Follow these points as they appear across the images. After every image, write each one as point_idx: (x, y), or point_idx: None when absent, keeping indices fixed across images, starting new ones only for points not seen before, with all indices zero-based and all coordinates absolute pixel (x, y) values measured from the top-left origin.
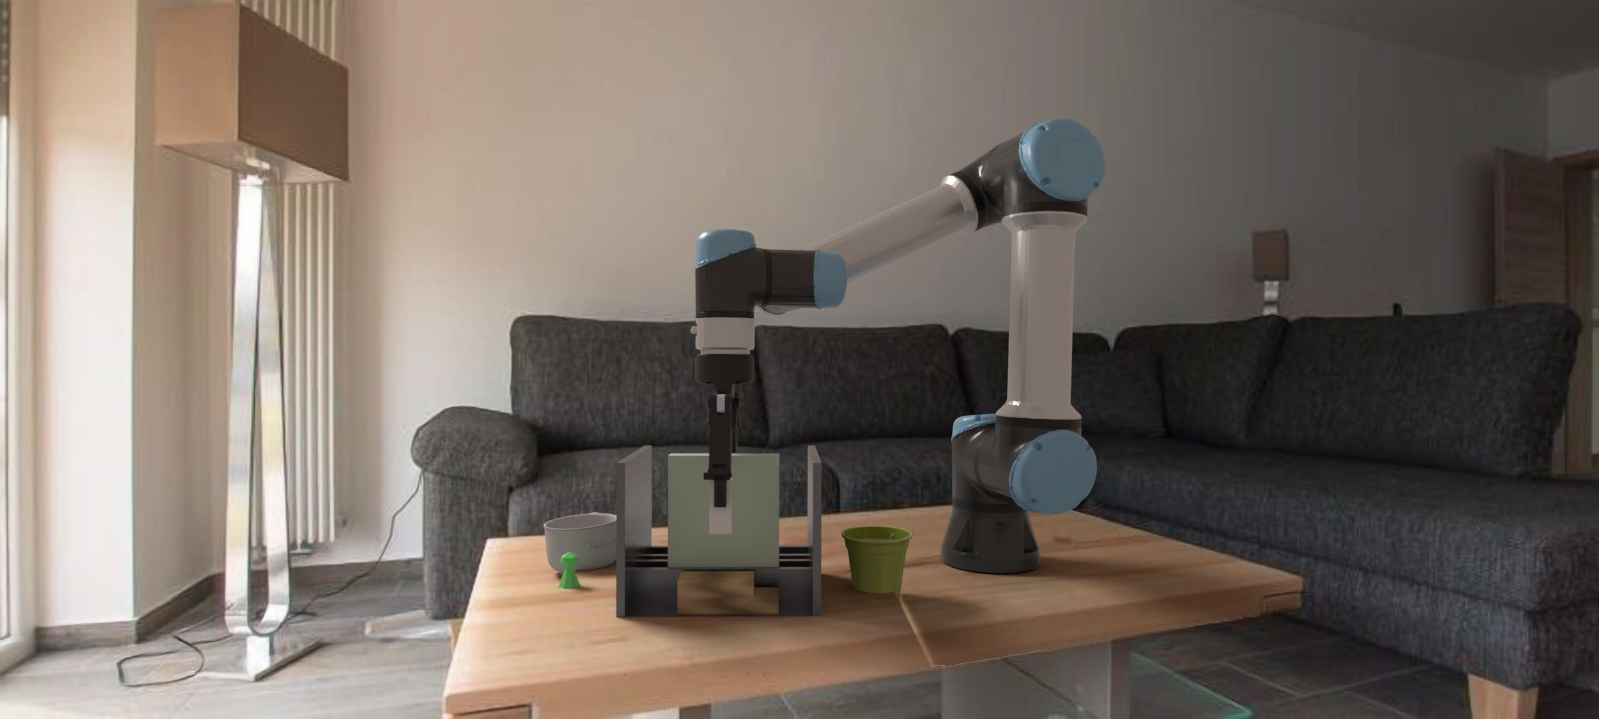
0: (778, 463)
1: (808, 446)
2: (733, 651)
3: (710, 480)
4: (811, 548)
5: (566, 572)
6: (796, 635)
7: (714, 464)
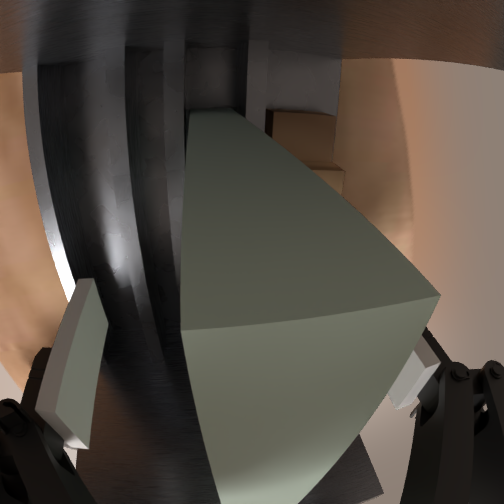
0: (389, 252)
1: None
2: (395, 176)
3: (411, 401)
4: (320, 38)
5: None
6: (355, 88)
7: (483, 412)
